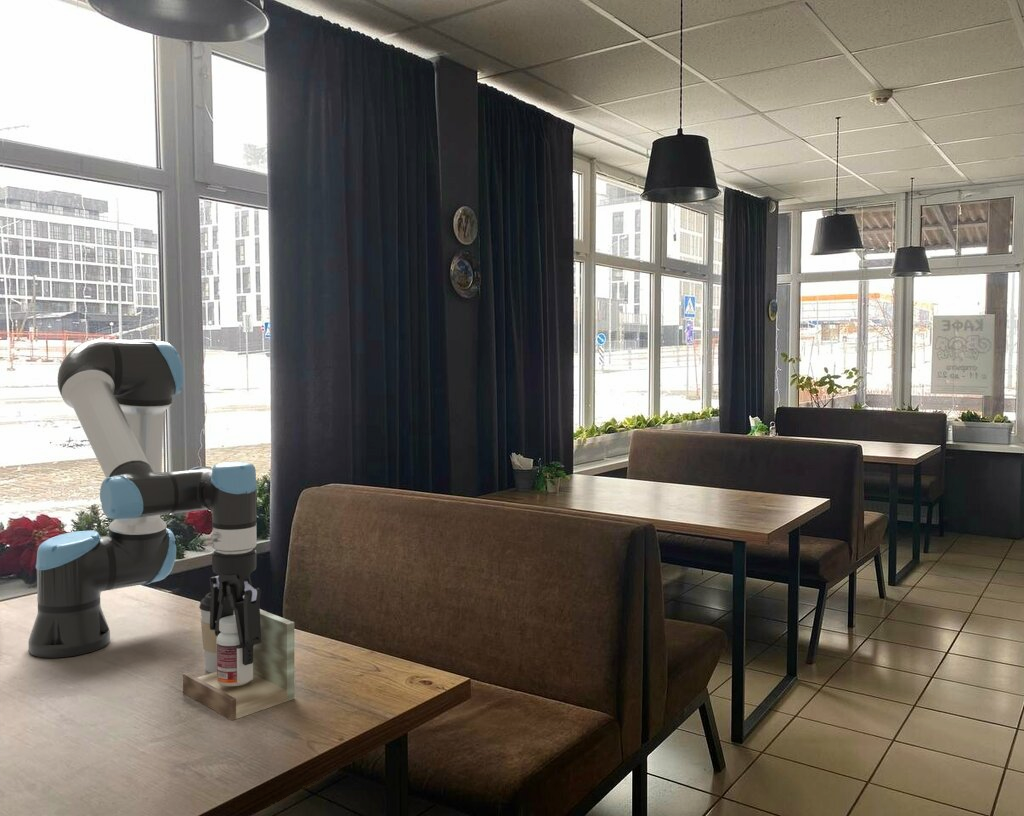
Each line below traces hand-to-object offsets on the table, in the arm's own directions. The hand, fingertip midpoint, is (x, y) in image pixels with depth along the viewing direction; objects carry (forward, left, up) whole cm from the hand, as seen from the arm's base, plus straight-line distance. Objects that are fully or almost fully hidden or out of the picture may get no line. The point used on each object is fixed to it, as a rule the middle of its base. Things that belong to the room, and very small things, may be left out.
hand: (234, 675), depth 149 cm
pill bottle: (0, 0, -1) cm, 1 cm away
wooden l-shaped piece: (0, +1, -4) cm, 4 cm away
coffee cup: (-14, +6, -4) cm, 16 cm away
